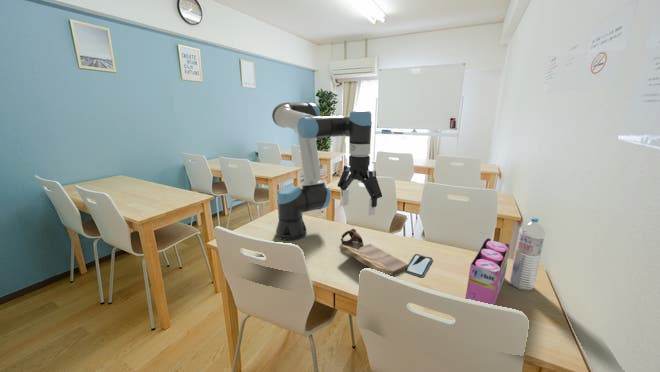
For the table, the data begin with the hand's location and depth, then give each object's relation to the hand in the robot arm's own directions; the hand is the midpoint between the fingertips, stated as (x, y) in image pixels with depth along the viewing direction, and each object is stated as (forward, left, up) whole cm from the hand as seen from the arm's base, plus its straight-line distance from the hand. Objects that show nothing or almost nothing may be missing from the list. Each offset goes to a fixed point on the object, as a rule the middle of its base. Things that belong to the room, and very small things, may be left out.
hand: (357, 209), depth 103 cm
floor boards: (+4, +9, -23) cm, 25 cm away
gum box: (+39, +24, -23) cm, 52 cm away
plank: (+4, 0, -20) cm, 20 cm away
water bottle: (+45, +36, -23) cm, 62 cm away
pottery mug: (-12, +8, -23) cm, 27 cm away
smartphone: (+16, +18, -23) cm, 34 cm away
